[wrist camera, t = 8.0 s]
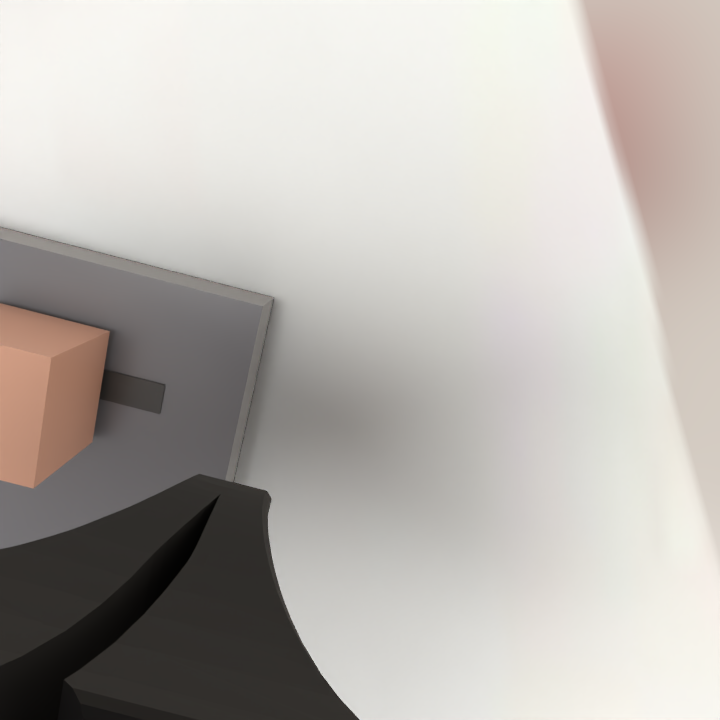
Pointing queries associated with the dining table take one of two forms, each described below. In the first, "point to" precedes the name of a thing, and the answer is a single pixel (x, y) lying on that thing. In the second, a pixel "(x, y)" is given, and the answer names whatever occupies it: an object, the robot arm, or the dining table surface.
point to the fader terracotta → (46, 392)
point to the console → (136, 379)
